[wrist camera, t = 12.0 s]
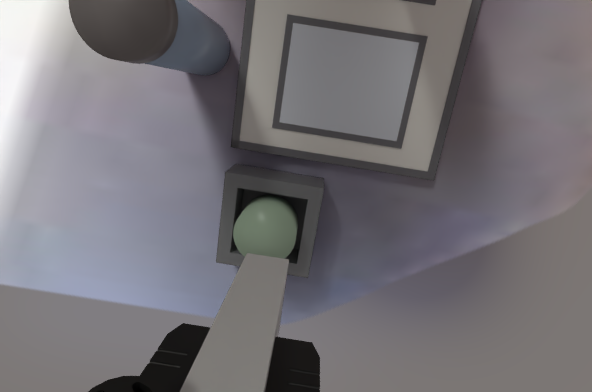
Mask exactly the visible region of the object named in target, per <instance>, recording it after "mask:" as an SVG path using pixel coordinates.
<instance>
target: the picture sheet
mask: <svg viewBox="0 0 592 392" xmlns="http://www.w3.org/2000/svg"><path fill="white" fill-rule="evenodd" d="M481 1H482V0H246V8H245V18H244V27H243V37H242V46H241V56H240V65H239V74H238V84H237V93H236V103H235V112H234V122H233V131H232V141H231V147H233V148H239V149H245V150H251V151H257V152H263V153H269V154H275V155H281V156H288V157H294V158H300V159H306V160H312V161H318V162H324V163H330V164H336V165H342V166H348V167H354V168H361V169H367V170H373V171H379V172H385V173H391V174H397V175H403V176H409V177H415V178H421V179H427V180H434V178H435V174H436V170H437V167H438V163H439V159H440V155H441V152H442V148H443V144H444V140H445V137H446V133H447V129H448V125H449V122H450V118H451V114H452V110H453V107H454V103H455V99H456V95H457V91H458V88H459V84H460V80H461V76H462V73H463V69H464V65H465V61H466V58H467V54H468V50H469V46H470V43H471V39H472V35H473V31H474V28H475V24H476V20H477V16H478V13H479V9H480V5H481Z"/></svg>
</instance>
